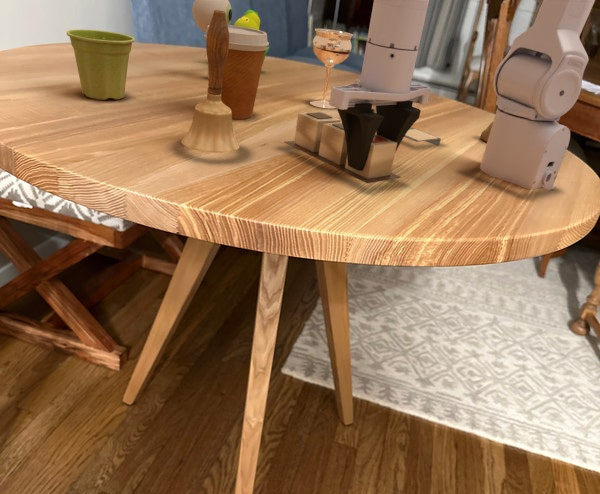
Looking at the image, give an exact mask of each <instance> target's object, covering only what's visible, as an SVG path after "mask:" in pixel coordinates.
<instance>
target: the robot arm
mask: <svg viewBox="0 0 600 494" xmlns="http://www.w3.org/2000/svg"><path fill="white" fill-rule="evenodd" d="M595 2H596V0H542V2H541V5H540V8H539V10H538V12H537V15H536V17H535V20H534V23H533V25H531V26H530V27H529V28H528V29H526V30H525V31H523V32H522V33H520V34H519V35H518V36H516V37H515V38H513V41H512V44H511V46H510V48H509V51H508V53H507V54H506V55H505V56H504V57H503V59H502V60H501V61H500V62H499V64H498V66H497V67H496V69H495V72H494V75H493V78H492V79H493V80H492V89H493V92H494V94H495V96H496V97H497V98H496V101H495V105H496V106H497V108H496V112H495V115H494V117H493V118H494V119H493V121H492V122H493V125H492V128H491V131H490V135H489V138H488V141H487V142H486V145H485V148H484V151H483V155H482V158H481V162H480V165H479V169H480V171H482V172H483V173H484V174H486V175H488V176H490V177H493V178H496V179H499V180H502V181H505V182H509V183H511V184H514V185H517V186H519V187H522V188H524V189H527V190H529V191H530V190H531V191H532V190H536V189H537V190H538V189H540V188H543V189H546V190H549V191H551V190H555V188H556V184H555V182H556V179H557V176H558V174H559V172H560V168H561V166H562V164H563V160H564V159H565V157H566V156H565V155H566V154H567V153H566V152H567V149H568V147H569V144H570V141H571V129H570V128H569V127H568V126H566V125H564V124H560V123H559V122H560V119H561V117H562V116H564V115H565V114H567V113H568V112H569V111H570V110H571V109H572V108H573V106H574V105H575V104H576V103H577V101H578V99H579V96H580V94H581V90H582V87H583V77H584V73H585V70H586V68H587V66H588V63H589V56H588V53H587V51H586V49H585V47H584V45H583V43H582V41H581V39H580V36H581V33H582V31H583V29H584V27H585V24H586V22H587V20H588V17H589V15H590V13H591V11H592V9H593V6H594V5H595ZM429 4H430V0H373V4H372V11H371V15H370V21H369V28H368V33H367V38H366V44H365V50H364V55H363V62H362V66H361V73H360V78H357V79H355V81H354V83H349V84H344V85H338V86H331V91H330V96H329V97H330V98H329V102H330V103H329V105H331V106H333V107H336V108H335V109H337V113H338V115H339V119H340V120H341V121H340V122H342V124H343V128H344V132H345V137H346V144H347V157H348V166H350V167H352V168H354V169H356V170H358V171H362V170H363V169H364V167H365V164H366V162H367V159H368V155H369V151H370V147H371V143H372V141H373V138H374V135H375V134H377V135H379V136H382V137H384V138H386V139H389V140H391V141H394V142H396V143H397V146H396V151H395V154H396V153H397V151H398V149H399V147H400V145H401V143H402V141H403V139H404V138H405V137H404V136H405V134H406V133H407V132H408V130H409V129H410V128H411V127H412V126H413V125H414V124H415V123H416V122H417V121H418V120H419V119H420V115H421V109H419V108H418V107H412V104H413V103H416V104H419V105H428V102H429V98H430V94H431V91H432V88H431V87H430V86H427V85H426V86H425V85H424V84H423V85H422V84H420V83H412V80H413V77H414V73H415V67H416V63H417V58H418V54H419V48H420V44H421V39H422V36H423V35H422V34H423V31H424V26H425V22H426V21H425V20H426V18H427V12H428V9H429ZM545 55H547V56H548V57H549V58H550V59H549V58H548V59H547V58H545V57H544V58H543V56H545ZM372 106H376V112H377V114H376V113H374V109H372Z"/></svg>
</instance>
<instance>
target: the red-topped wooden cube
mask: <svg viewBox="0 0 600 494" xmlns="http://www.w3.org/2000/svg"><path fill="white" fill-rule="evenodd" d="M396 146H397V143H396V142H394V141H391V140H389V139H386V138H384V137H382V136H379V135H377V133H375V135H374V138H373V141H372V143H371V147H370V151H369V155H368V159H367V162H366V164H365V167H364V169H363V170H362V171H358V170H356V169H354V168H352V167H350V166H348V157H347V159H346V164H345V168H346V169H348V170H350V171H352V172H354V173H356V174H359V175H361V176H363V177H365V178H367V179H370V178H376V177H382V176H388V175H390V174H391V173H392V169H393V163H394V161H395V156H396V155H395V154H396V153H395V151H396ZM396 152H397V151H396Z"/></svg>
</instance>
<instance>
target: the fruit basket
mask: <svg viewBox="0 0 600 494" xmlns="http://www.w3.org/2000/svg"><path fill="white" fill-rule="evenodd" d="M260 25H261V19H260V17H259V13H258V12H257V11H254V10H252V9H248V10H247V11H245V13H244V14H243V16H241V17H239V18H238V19H236V21H235V22H234V24H233V26H240V27H246V28H252V29H256V30H260ZM269 49H270V46H267V50H265V55H264V60H263V64H264V62H265V59H266V57H267V53H268V52H269ZM263 64H262V66H263Z"/></svg>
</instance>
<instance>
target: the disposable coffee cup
mask: <svg viewBox="0 0 600 494" xmlns="http://www.w3.org/2000/svg"><path fill="white" fill-rule="evenodd" d="M208 28H209V25H208V26H207V30H206V32H205V33H204V34H203V37H204V39H205V43H206V40H207V32H208ZM228 30H229V49H228V55H227V59H226V62H225V64H224V67H223V73H222V88H221V89H222V93H221V101H222V103H223V104H225V105H226V106H227V107H229V108H230V109H231V111H232V120H243V119H244V120H245V119H250V118H251V117H252V116H253V113H254V108H255V103H256V98H257V94H258V88H259V83H260V79H261V74H262V69H263V65H262V64H264V62H263V60H264V61H265V59H264V55H265V50H267V47H269V46H270V42H269V41H268V33H267V32H265V31H263V30H260V29H259V30H256V29H252V28H246V27H240V26H234V25H231V24H229V25H228ZM208 68H209V62H208V61H207V69H208Z"/></svg>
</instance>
